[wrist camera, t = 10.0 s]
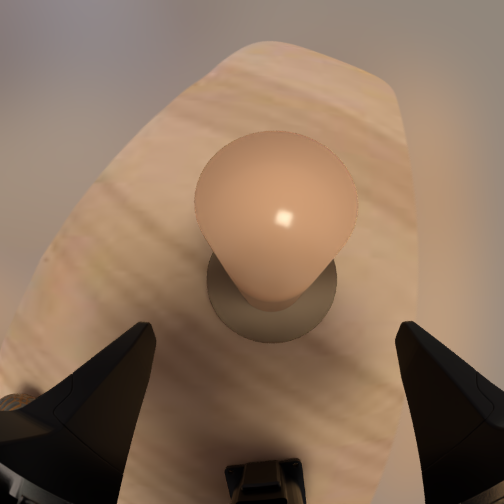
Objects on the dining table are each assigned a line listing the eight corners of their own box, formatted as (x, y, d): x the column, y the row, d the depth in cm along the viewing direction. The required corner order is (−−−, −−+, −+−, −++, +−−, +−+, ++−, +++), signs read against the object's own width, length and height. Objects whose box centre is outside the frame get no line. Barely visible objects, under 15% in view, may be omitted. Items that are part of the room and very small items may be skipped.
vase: (73, 429, 19) (18, 448, 11) (53, 455, 18) (4, 473, 9) (38, 379, 21) (-19, 382, 12) (20, 410, 19) (-30, 416, 11)
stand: (340, 330, 21) (347, 329, 19) (219, 349, 21) (215, 351, 19) (317, 217, 24) (321, 208, 22) (206, 234, 24) (201, 226, 22)
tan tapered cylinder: (313, 302, 20) (380, 253, 8) (244, 318, 20) (208, 293, 8) (296, 238, 22) (326, 122, 9) (231, 252, 22) (187, 148, 9)
